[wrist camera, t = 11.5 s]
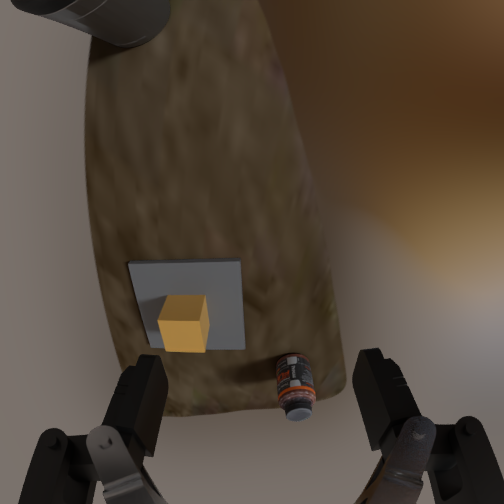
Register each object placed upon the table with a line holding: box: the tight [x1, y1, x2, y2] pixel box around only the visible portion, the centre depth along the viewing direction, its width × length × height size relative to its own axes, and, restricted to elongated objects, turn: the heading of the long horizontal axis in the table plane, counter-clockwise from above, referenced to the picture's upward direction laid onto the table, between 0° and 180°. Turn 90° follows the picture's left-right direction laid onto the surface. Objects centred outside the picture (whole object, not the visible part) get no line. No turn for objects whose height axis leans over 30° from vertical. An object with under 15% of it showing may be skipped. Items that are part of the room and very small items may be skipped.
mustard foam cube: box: [157, 295, 210, 352], centre depth 40 cm, size 6×6×6 cm
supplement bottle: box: [276, 354, 316, 421], centre depth 44 cm, size 6×6×11 cm
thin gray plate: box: [128, 258, 245, 349], centre depth 42 cm, size 16×16×5 cm
